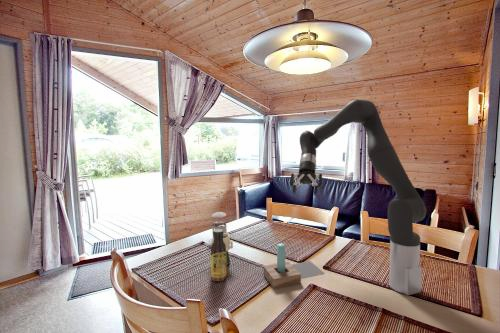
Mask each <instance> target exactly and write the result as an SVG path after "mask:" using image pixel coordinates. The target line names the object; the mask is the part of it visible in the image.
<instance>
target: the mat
mask: <svg viewBox="0 0 500 333" xmlns="http://www.w3.org/2000/svg"><path fill="white" fill-rule="evenodd" d="M291 265H292V266H293V267H294V268H295V269H296V270H297V271H298V272H299V273H300V274H301V280H302V279H306V278H312V277H316V276H321V275H326V272H324V271H323V270H322V269H321V268H319V267H318V266H317V265H316V264H314V263H313V262H312V261H310V260H308V261H304V262H298V263H297V262H296V263H292V264H291Z"/></svg>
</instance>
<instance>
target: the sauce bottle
mask: <svg viewBox="0 0 500 333" xmlns="http://www.w3.org/2000/svg"><path fill="white" fill-rule="evenodd" d="M213 235H214V242H213V244H212V243H211V246H210V278H211V280H212V281H213V282H216V281H218V282H219V281H220V282H223V281H224V279H225V278H227V265H226V245H225V243H224V242H223V230H222V229H214V230H212V236H213ZM225 280H226V279H225Z"/></svg>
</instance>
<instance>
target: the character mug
mask: <svg viewBox="0 0 500 333" xmlns="http://www.w3.org/2000/svg"><path fill="white" fill-rule="evenodd" d="M211 239H212V240H211V245H212V244H213V242H214V238H213V237H212V238H211ZM223 242H224V243H225V245H226V266H228V265H229V264H230V262H231V258H230V254H229V251H230V249H233V248H234V243H233V240H231V236H230V234H229V233H223Z"/></svg>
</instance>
